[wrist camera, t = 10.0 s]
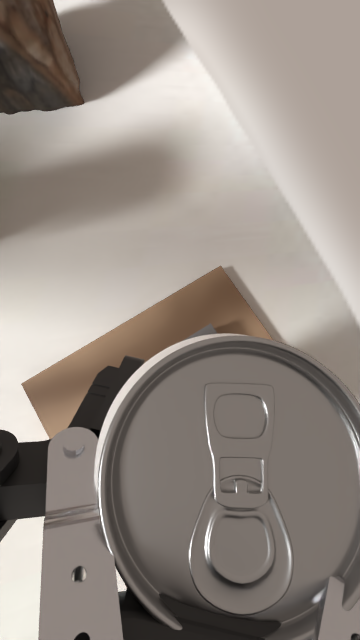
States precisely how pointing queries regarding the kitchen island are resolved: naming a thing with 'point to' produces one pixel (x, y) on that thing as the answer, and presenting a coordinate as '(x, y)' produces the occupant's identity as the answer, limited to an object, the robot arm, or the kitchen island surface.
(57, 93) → the brown rock
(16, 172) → the kitchen island surface
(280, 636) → the can
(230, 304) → the mount
